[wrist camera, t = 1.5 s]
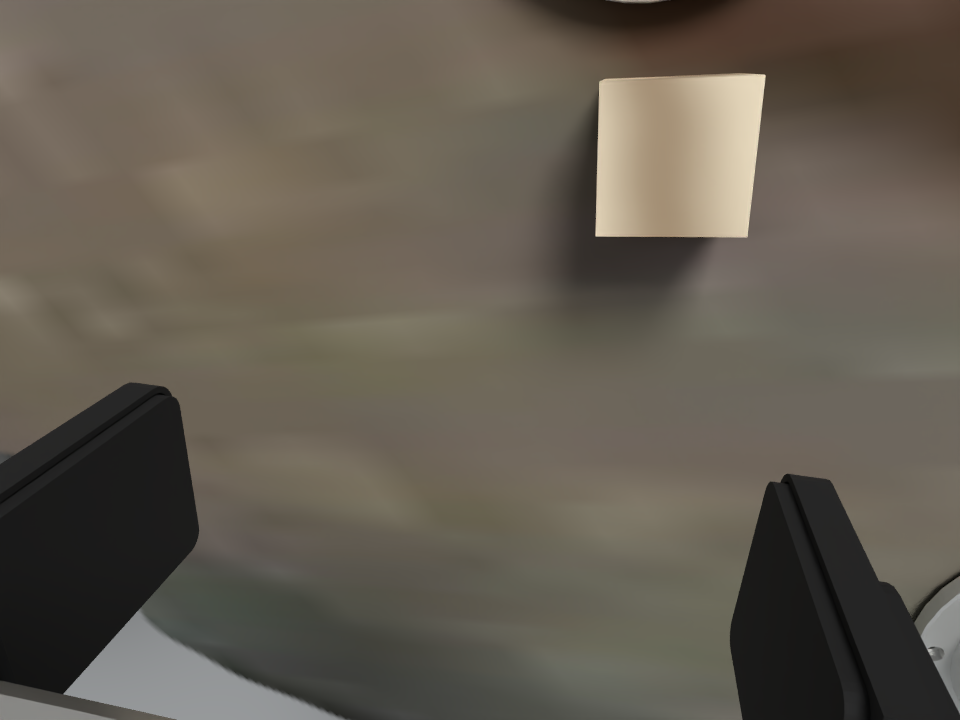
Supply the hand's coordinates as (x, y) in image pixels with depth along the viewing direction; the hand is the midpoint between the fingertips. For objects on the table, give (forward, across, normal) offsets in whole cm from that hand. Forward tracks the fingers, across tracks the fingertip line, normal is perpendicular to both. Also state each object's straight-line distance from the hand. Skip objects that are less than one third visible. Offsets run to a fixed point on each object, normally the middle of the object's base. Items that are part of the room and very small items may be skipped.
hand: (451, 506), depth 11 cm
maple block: (+20, -4, -4) cm, 21 cm away
